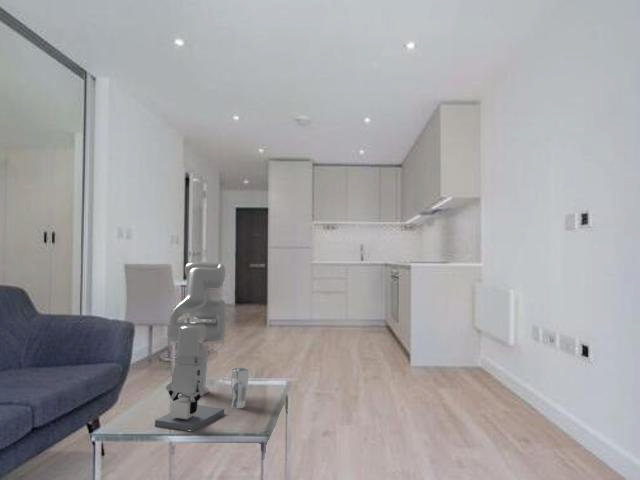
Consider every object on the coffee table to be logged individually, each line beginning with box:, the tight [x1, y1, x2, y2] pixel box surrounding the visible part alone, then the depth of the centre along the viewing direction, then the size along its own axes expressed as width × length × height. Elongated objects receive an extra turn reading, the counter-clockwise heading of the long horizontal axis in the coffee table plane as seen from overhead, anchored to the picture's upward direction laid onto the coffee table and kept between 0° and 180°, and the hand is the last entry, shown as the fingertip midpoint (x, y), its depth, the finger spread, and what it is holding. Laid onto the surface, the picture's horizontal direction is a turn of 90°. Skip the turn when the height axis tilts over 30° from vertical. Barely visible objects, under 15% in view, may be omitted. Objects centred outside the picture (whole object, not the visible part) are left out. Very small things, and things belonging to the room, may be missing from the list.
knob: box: [170, 394, 199, 419], centre depth 161 cm, size 7×7×7 cm
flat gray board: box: [154, 404, 225, 432], centre depth 165 cm, size 15×22×6 cm
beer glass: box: [230, 367, 249, 410], centre depth 184 cm, size 7×7×15 cm
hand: (184, 410), depth 161 cm, fingers closed on knob, 6 cm apart
